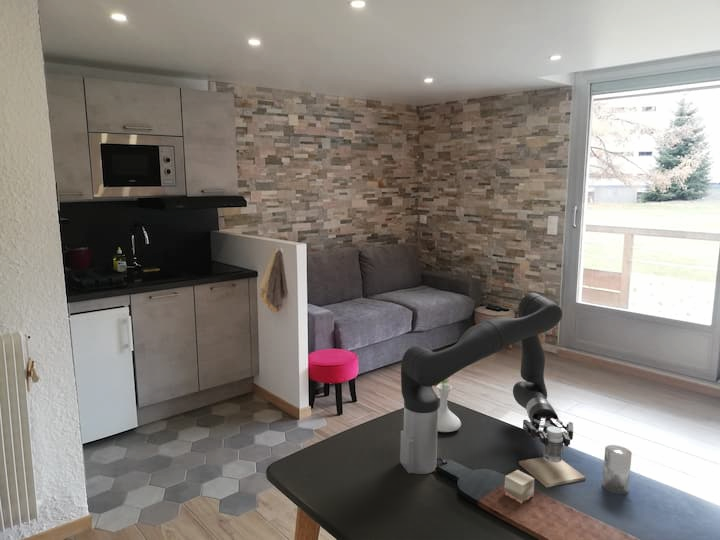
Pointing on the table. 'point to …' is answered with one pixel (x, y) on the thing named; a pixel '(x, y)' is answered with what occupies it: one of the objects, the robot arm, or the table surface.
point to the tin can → (616, 469)
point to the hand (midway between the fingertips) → (556, 442)
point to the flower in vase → (446, 410)
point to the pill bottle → (554, 445)
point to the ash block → (519, 484)
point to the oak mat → (551, 471)
